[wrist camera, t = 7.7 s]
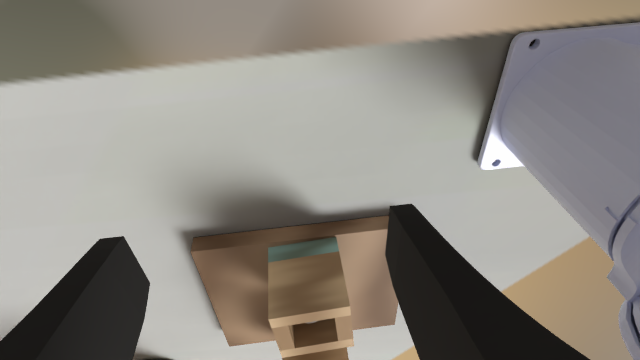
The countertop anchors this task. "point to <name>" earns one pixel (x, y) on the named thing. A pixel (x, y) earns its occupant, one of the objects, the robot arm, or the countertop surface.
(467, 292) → the robot arm
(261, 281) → the pin board
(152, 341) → the countertop surface
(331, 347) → the sleeve
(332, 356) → the seated sleeve
